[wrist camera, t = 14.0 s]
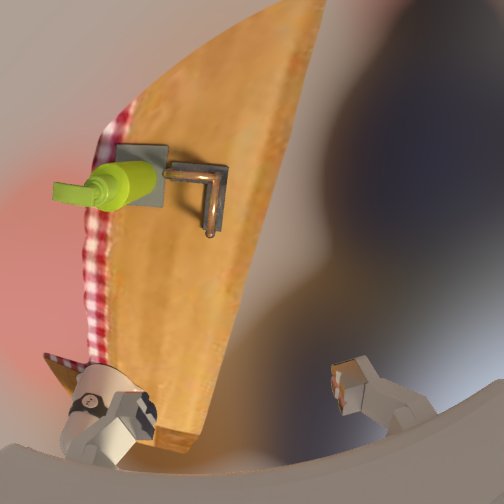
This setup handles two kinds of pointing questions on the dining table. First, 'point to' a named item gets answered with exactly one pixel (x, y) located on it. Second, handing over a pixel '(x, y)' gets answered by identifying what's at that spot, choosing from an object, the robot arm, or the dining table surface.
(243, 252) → the dining table surface
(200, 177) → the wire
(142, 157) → the mat
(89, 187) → the soap dispenser
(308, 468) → the robot arm
